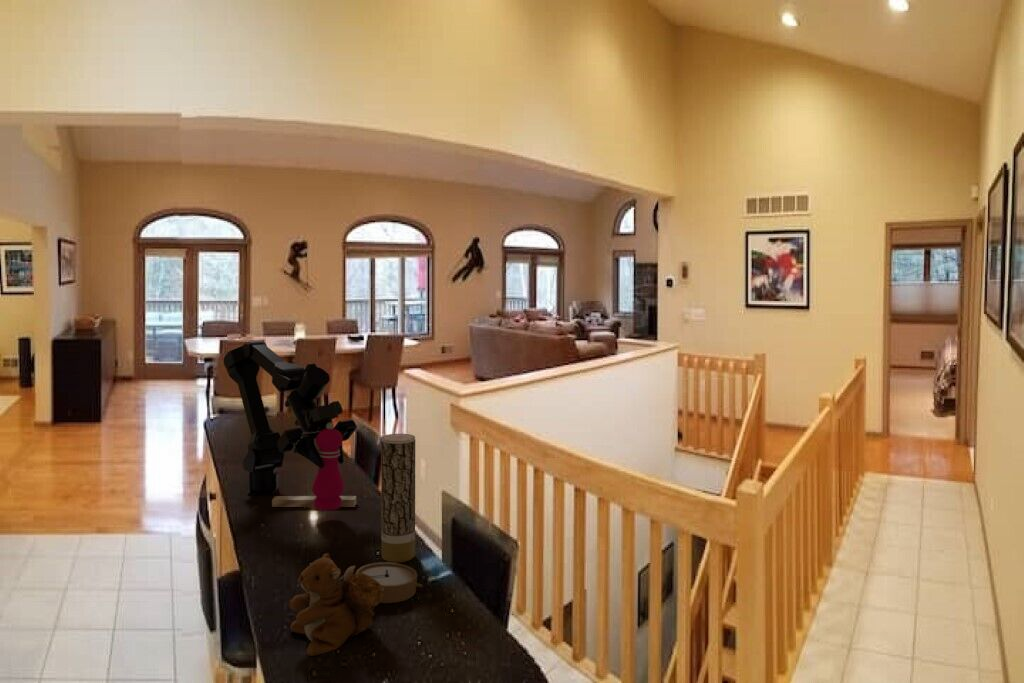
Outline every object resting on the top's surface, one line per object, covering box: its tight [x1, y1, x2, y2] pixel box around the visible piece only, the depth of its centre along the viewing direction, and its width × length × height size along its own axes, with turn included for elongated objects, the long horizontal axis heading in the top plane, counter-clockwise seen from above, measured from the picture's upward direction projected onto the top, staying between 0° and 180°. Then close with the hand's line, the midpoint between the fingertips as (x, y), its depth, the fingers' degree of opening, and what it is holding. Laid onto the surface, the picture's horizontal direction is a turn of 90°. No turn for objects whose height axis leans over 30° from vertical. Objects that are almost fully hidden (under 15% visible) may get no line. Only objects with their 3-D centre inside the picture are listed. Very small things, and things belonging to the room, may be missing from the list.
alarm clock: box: [339, 561, 423, 604], centre depth 129 cm, size 11×5×15 cm
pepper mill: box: [311, 422, 345, 511], centre depth 166 cm, size 7×7×20 cm
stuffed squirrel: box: [289, 553, 384, 657], centre depth 113 cm, size 10×14×13 cm
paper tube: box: [380, 433, 416, 564], centre depth 145 cm, size 7×7×25 cm
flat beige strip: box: [271, 495, 357, 509], centre depth 177 cm, size 20×3×2 cm, turn 93°
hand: (332, 465), depth 165 cm, fingers closed on pepper mill, 5 cm apart
